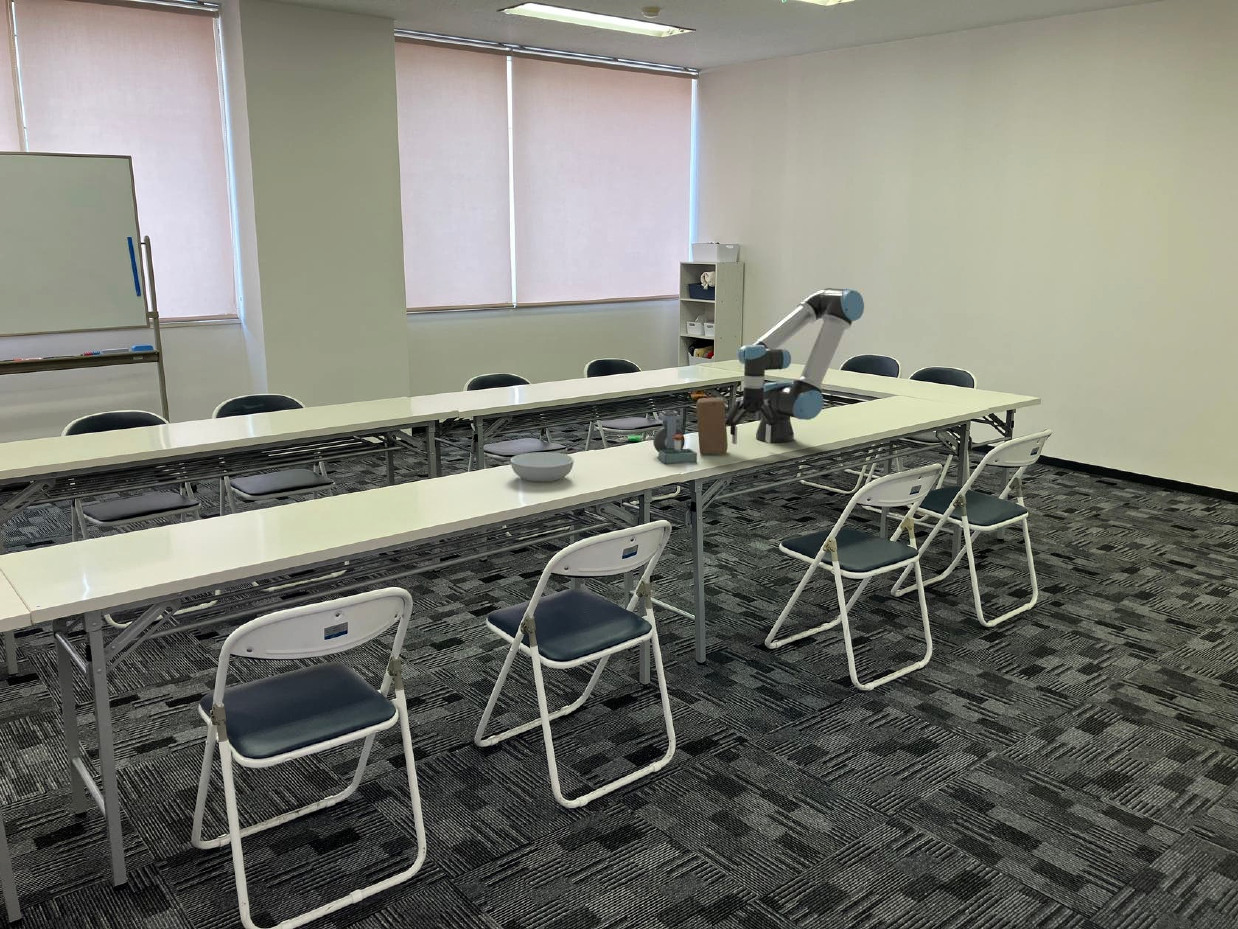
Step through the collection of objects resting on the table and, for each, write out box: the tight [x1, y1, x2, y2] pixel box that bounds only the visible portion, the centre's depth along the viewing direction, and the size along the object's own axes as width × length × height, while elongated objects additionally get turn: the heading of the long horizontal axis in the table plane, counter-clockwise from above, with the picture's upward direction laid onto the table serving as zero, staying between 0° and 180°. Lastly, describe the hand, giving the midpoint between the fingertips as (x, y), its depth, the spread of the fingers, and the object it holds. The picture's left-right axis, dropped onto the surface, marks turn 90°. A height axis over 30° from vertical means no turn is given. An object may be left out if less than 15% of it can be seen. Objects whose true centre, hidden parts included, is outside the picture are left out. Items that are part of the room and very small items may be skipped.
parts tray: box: [658, 448, 698, 465], centre depth 335 cm, size 12×8×4 cm, turn 105°
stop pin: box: [673, 434, 684, 454], centre depth 334 cm, size 3×3×9 cm
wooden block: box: [695, 396, 728, 456], centre depth 346 cm, size 10×10×20 cm
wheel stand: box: [652, 410, 686, 453], centre depth 341 cm, size 11×6×16 cm, turn 105°
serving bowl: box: [510, 451, 575, 483], centre depth 308 cm, size 21×21×7 cm
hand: (751, 442), depth 351 cm, fingers open, 13 cm apart
